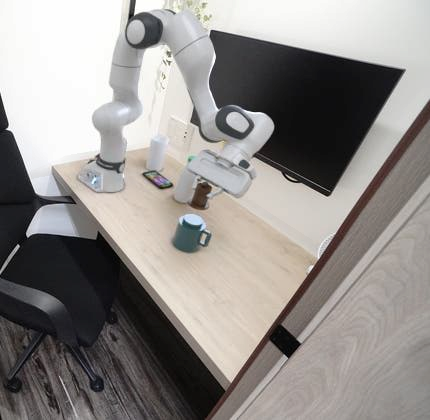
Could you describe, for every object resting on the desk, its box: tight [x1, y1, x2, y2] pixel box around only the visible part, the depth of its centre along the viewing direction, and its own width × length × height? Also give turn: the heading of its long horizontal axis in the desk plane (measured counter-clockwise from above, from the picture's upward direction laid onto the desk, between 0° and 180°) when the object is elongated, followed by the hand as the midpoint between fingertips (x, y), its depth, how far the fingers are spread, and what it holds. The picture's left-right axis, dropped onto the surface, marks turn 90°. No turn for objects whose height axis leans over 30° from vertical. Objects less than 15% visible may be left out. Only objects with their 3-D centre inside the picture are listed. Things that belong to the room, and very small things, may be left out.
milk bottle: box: [173, 155, 197, 204], centre depth 136 cm, size 8×8×20 cm
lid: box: [187, 181, 213, 211], centre depth 105 cm, size 7×7×9 cm
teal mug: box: [171, 213, 213, 254], centre depth 114 cm, size 12×9×12 cm
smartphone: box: [142, 170, 174, 190], centre depth 154 cm, size 8×1×15 cm
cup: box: [145, 134, 170, 172], centre depth 160 cm, size 8×8×16 cm
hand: (200, 193), depth 104 cm, fingers closed on lid, 4 cm apart
